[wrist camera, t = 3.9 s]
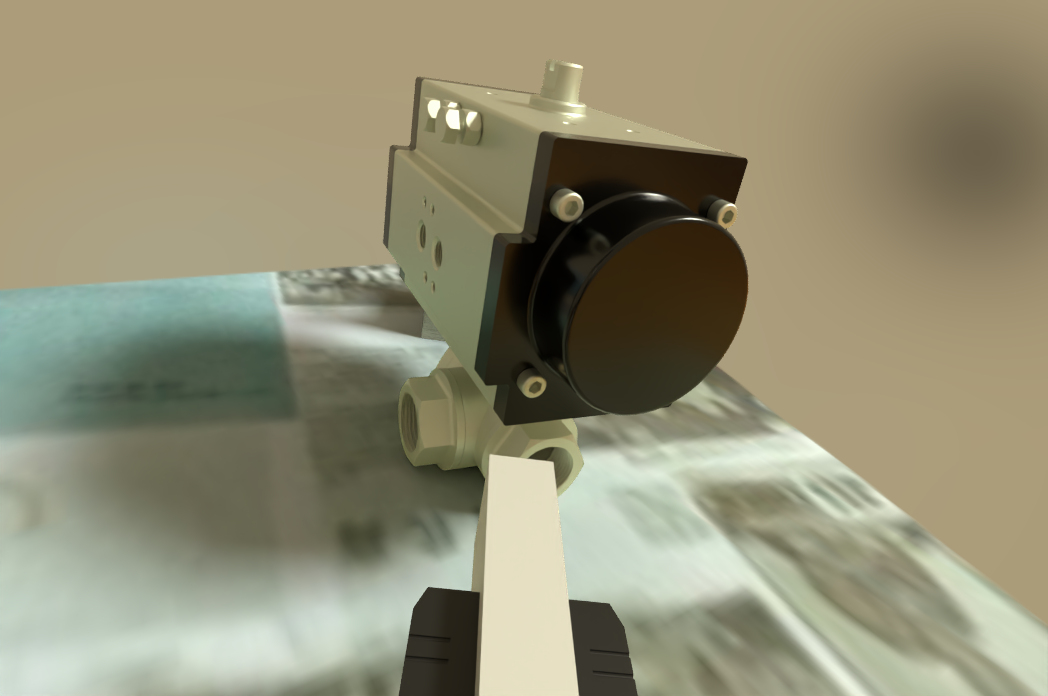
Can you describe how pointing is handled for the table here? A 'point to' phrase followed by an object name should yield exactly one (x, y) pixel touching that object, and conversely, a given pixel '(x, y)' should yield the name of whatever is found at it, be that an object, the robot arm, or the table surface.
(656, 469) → the table surface
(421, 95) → the ball valve
